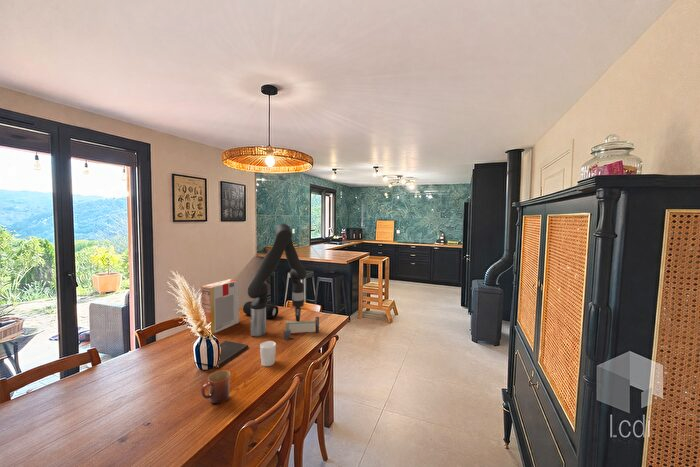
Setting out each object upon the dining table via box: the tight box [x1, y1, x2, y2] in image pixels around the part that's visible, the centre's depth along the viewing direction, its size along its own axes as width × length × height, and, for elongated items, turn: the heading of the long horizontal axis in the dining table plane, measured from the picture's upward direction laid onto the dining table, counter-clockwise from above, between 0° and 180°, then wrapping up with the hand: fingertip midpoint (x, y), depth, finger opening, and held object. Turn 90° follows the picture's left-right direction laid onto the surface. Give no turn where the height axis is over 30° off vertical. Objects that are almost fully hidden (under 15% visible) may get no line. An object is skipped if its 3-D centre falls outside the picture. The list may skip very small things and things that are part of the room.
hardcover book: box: [216, 340, 249, 369], centre depth 156 cm, size 16×23×2 cm
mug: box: [200, 369, 232, 404], centre depth 118 cm, size 12×9×10 cm
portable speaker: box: [242, 300, 279, 319], centre depth 215 cm, size 26×10×10 cm, turn 71°
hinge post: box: [314, 316, 320, 334], centre depth 188 cm, size 2×2×10 cm
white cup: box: [259, 340, 277, 367], centre depth 148 cm, size 8×8×10 cm
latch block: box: [282, 329, 292, 340], centre depth 178 cm, size 4×2×5 cm, turn 112°
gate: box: [285, 320, 315, 334], centre depth 186 cm, size 18×2×7 cm, turn 98°
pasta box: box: [200, 278, 240, 335], centre depth 192 cm, size 23×8×30 cm, turn 156°
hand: (297, 324), depth 189 cm, fingers closed
